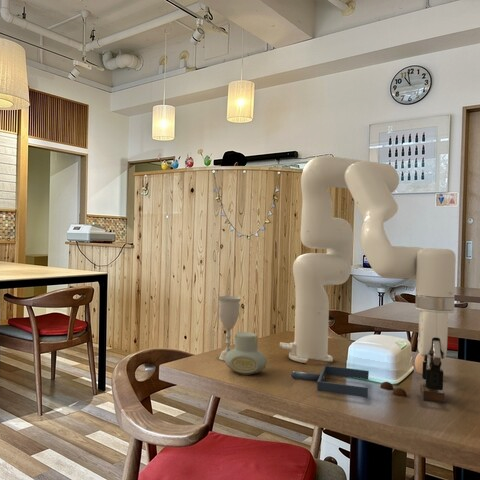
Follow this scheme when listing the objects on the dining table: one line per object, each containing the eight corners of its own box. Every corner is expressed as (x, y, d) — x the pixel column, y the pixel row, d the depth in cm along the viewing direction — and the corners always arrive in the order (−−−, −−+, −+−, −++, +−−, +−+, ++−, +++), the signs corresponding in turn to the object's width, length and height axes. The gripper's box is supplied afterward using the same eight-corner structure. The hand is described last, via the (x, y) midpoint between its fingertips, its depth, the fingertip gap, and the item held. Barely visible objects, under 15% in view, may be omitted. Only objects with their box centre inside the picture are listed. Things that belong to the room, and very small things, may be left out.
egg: (433, 382, 123) (434, 353, 123) (410, 377, 128) (411, 348, 128) (443, 379, 126) (444, 350, 126) (420, 374, 131) (421, 346, 131)
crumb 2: (392, 401, 107) (393, 389, 107) (392, 397, 110) (392, 385, 110) (406, 403, 106) (407, 390, 106) (405, 399, 109) (406, 387, 109)
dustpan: (368, 384, 120) (368, 370, 120) (367, 403, 105) (367, 388, 105) (295, 374, 127) (296, 361, 127) (285, 391, 112) (286, 376, 112)
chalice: (234, 363, 137) (235, 299, 137) (211, 359, 140) (213, 297, 140) (242, 358, 143) (244, 297, 143) (221, 354, 147) (223, 295, 147)
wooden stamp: (423, 406, 104) (424, 367, 104) (419, 396, 112) (420, 359, 112) (444, 409, 103) (445, 370, 103) (439, 398, 110) (440, 361, 110)
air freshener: (267, 369, 131) (268, 332, 131) (265, 378, 123) (266, 338, 123) (226, 365, 134) (227, 329, 134) (222, 373, 126) (223, 335, 126)
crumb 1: (380, 394, 112) (380, 382, 112) (379, 391, 115) (380, 379, 115) (393, 396, 111) (393, 384, 111) (393, 393, 113) (393, 381, 113)
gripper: (412, 298, 117) (410, 372, 117) (418, 307, 101) (416, 392, 101) (448, 301, 114) (446, 376, 114) (460, 310, 98) (458, 398, 98)
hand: (432, 383), depth 107 cm, fingers open, 6 cm apart
